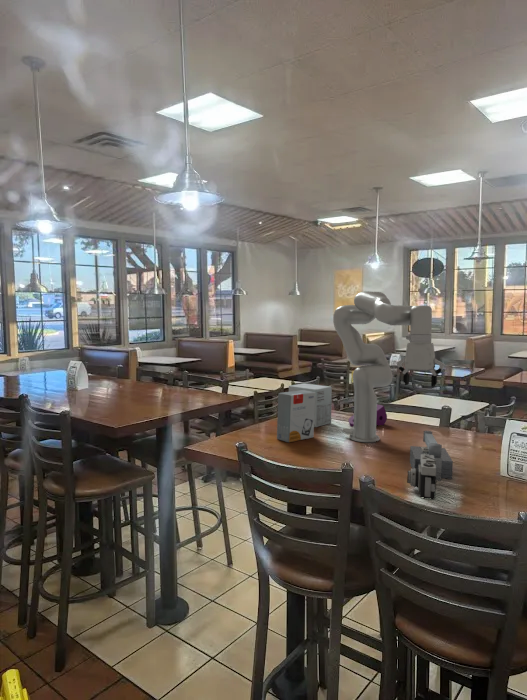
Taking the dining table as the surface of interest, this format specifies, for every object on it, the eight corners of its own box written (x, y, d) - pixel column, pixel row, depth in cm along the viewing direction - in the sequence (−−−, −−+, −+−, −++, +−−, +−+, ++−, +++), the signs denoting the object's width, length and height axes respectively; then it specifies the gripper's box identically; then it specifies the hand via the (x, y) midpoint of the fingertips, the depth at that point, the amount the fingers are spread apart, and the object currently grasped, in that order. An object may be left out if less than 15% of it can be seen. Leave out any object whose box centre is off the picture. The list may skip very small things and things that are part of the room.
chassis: (415, 479, 165) (416, 456, 164) (409, 462, 184) (410, 441, 183) (453, 482, 163) (454, 459, 162) (443, 464, 181) (444, 443, 181)
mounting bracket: (363, 440, 235) (388, 420, 243) (357, 425, 232) (383, 405, 240) (349, 436, 243) (375, 416, 251) (344, 421, 240) (370, 402, 248)
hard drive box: (288, 443, 206) (289, 395, 205) (276, 439, 212) (277, 392, 211) (314, 437, 217) (315, 391, 215) (301, 433, 222) (302, 389, 221)
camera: (407, 481, 163) (408, 451, 163) (433, 484, 161) (435, 453, 160) (406, 496, 150) (408, 463, 149) (435, 499, 148) (437, 466, 147)
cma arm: (429, 456, 163) (429, 446, 163) (421, 440, 184) (421, 430, 184) (442, 457, 162) (442, 446, 162) (432, 440, 183) (433, 431, 183)
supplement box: (332, 423, 244) (333, 386, 242) (316, 427, 234) (317, 389, 232) (303, 417, 255) (304, 382, 253) (287, 421, 245) (287, 385, 243)
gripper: (394, 339, 185) (393, 385, 186) (442, 340, 176) (441, 388, 177) (400, 338, 192) (399, 383, 193) (447, 339, 183) (446, 386, 184)
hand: (419, 385), depth 185 cm, fingers open, 9 cm apart
